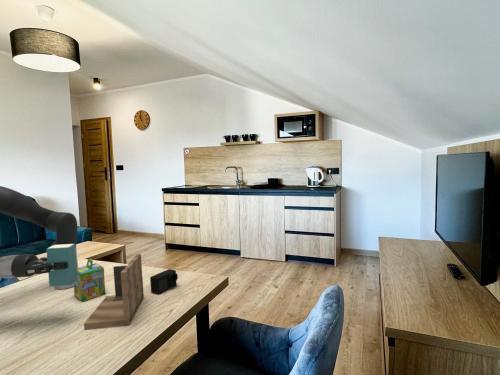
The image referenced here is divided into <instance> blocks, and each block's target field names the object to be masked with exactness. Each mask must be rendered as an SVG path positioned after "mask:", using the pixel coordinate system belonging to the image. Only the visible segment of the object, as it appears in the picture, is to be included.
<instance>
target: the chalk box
mask: <svg viewBox="0 0 500 375" xmlns="http://www.w3.org/2000/svg"><path fill="white" fill-rule="evenodd" d="M93 262H94V260H93V259H90V258H87V263H86V265H83V266H78V268H77V275H78V280H77V281H76V282H75V283H74V286H73V294H74V297H76V298H77V299H78V300H79V301H81V302H82V303H84V302H85V301H88V300H92V299H94V298H98V297H100V296H103V295H106V285H105V284H106V283H105V269H104V266H102V265H101V264H98V263H93Z"/></svg>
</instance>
